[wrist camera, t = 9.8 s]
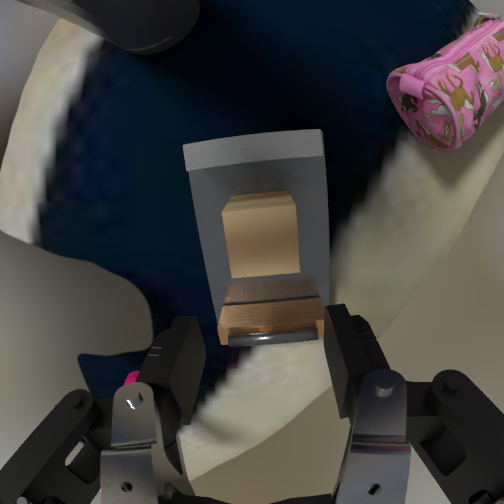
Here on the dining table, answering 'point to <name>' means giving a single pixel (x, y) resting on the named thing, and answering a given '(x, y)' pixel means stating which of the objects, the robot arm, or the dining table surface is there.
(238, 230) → the oak block
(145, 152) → the dining table surface
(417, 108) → the pencil case
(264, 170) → the vise base
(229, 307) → the sliding jaw
